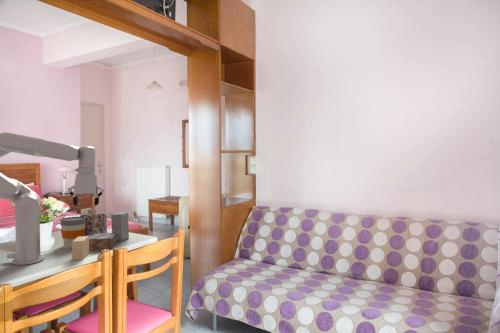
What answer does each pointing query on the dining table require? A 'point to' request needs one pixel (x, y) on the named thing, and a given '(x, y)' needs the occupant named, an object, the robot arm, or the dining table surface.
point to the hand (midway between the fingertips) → (86, 205)
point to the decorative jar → (95, 222)
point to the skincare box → (120, 226)
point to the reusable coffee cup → (72, 229)
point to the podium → (102, 241)
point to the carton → (80, 247)
